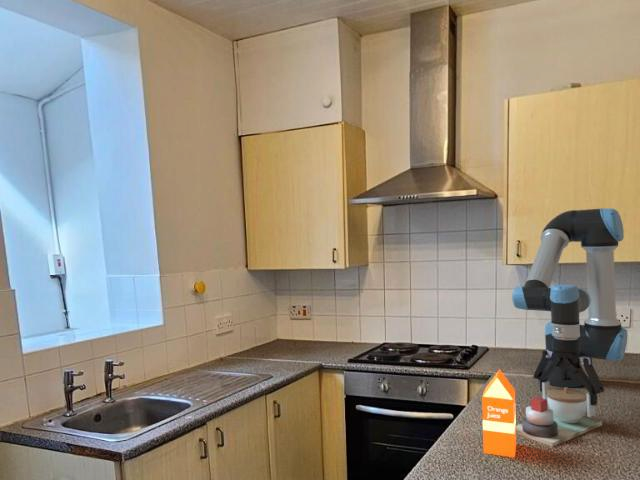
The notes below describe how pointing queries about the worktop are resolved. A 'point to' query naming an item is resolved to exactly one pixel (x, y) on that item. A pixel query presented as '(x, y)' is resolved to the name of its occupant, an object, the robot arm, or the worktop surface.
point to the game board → (560, 436)
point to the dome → (539, 412)
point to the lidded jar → (567, 404)
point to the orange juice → (499, 417)
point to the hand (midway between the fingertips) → (567, 409)
